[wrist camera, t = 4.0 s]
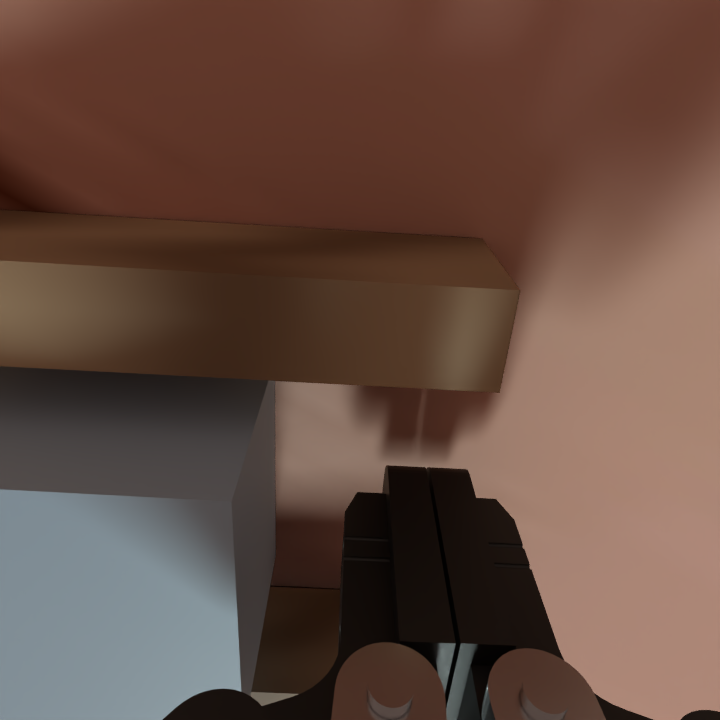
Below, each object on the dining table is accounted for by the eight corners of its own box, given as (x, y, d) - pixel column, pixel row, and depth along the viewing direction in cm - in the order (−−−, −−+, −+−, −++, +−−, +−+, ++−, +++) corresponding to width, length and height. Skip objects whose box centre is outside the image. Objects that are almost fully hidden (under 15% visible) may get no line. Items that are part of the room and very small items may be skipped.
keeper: (275, 356, 10) (231, 501, 7) (276, 550, 13) (243, 734, 9) (6, 340, 10) (-181, 479, 7) (56, 539, 13) (-64, 721, 9)
